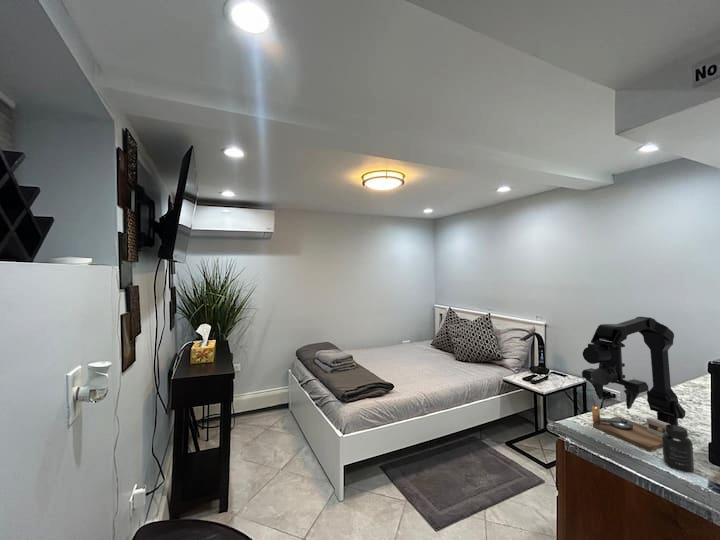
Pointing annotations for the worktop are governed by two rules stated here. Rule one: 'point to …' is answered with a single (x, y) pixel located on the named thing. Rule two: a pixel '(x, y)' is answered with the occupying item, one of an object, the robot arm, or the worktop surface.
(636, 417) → the worktop surface
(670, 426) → the supplement bottle
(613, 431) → the stand
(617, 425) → the cam lever
